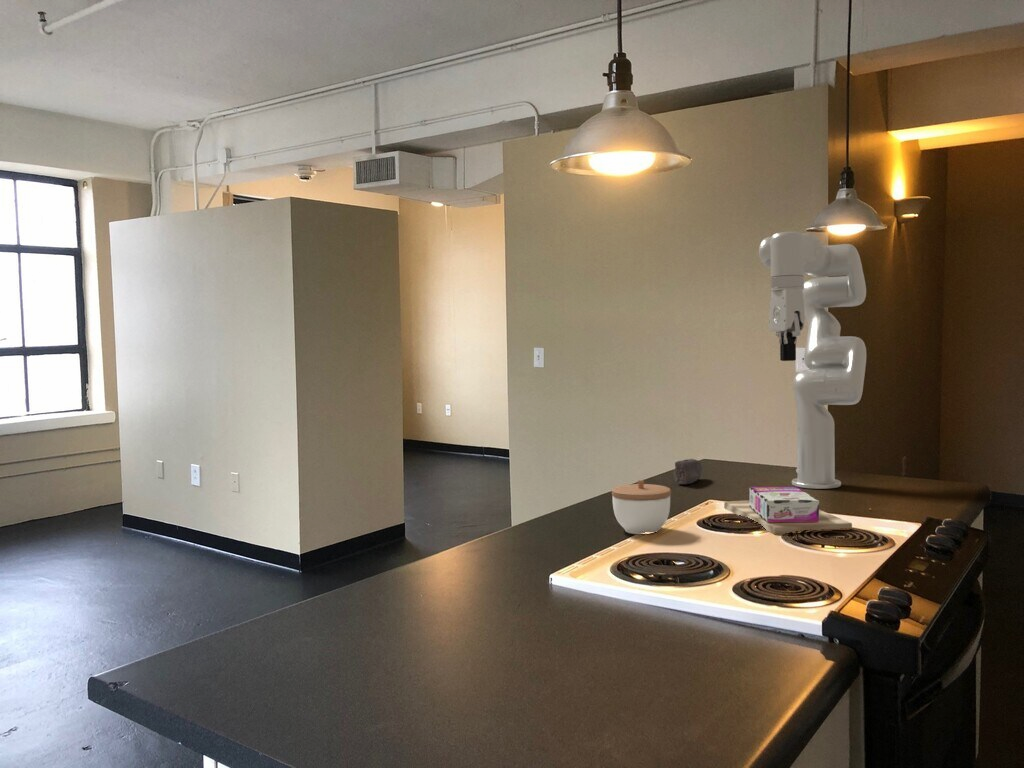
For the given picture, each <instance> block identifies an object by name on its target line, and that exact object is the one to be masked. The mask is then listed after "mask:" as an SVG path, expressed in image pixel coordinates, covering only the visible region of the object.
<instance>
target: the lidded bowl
mask: <svg viewBox="0 0 1024 768" xmlns="http://www.w3.org/2000/svg"><path fill="white" fill-rule="evenodd" d="M671 495H672V490H671V488H670V487H668V486H665V485H660V484H653V483H650V484H649V483H645V480H644V479H638V480H637V483H633V484H620V485H617V486H615V487H613V488H611V496H612V508H613V514H614V516H615V519H616V521H617V522H618V524H619V525H620V526H621V527H622V528H623V529H624V531H625V532H626V533H627V534H632V535H641V533H645V532H656V531H658V530H660V529H661V528H662V527H663V526H664V525H665V524H666V522H667V521H668V518H669V515H670V510H671ZM658 532H659V531H658Z"/></svg>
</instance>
